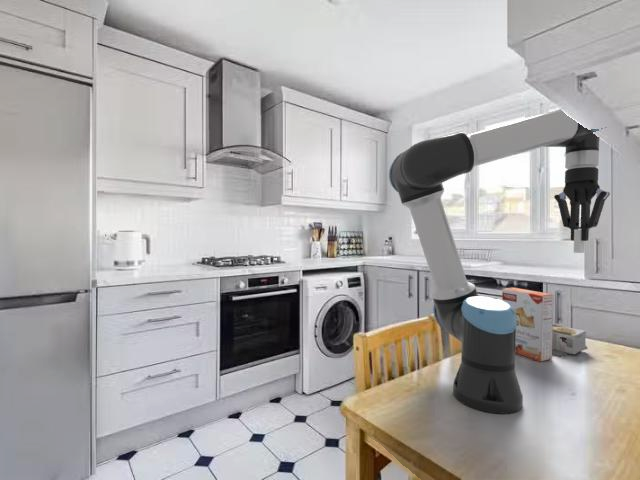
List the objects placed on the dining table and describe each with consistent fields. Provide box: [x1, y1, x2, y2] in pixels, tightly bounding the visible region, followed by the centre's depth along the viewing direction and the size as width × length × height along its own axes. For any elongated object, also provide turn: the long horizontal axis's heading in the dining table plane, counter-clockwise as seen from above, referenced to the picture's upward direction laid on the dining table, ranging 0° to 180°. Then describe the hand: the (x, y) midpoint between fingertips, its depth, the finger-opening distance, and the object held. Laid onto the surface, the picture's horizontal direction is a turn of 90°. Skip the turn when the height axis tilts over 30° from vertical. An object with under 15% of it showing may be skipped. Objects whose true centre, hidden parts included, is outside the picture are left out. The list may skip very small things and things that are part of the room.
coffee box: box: [552, 324, 587, 355], centre depth 123 cm, size 9×6×16 cm
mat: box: [552, 345, 588, 358], centre depth 124 cm, size 18×14×1 cm
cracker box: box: [501, 287, 554, 363], centre depth 116 cm, size 14×6×21 cm, turn 25°
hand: (579, 252), depth 100 cm, fingers closed
